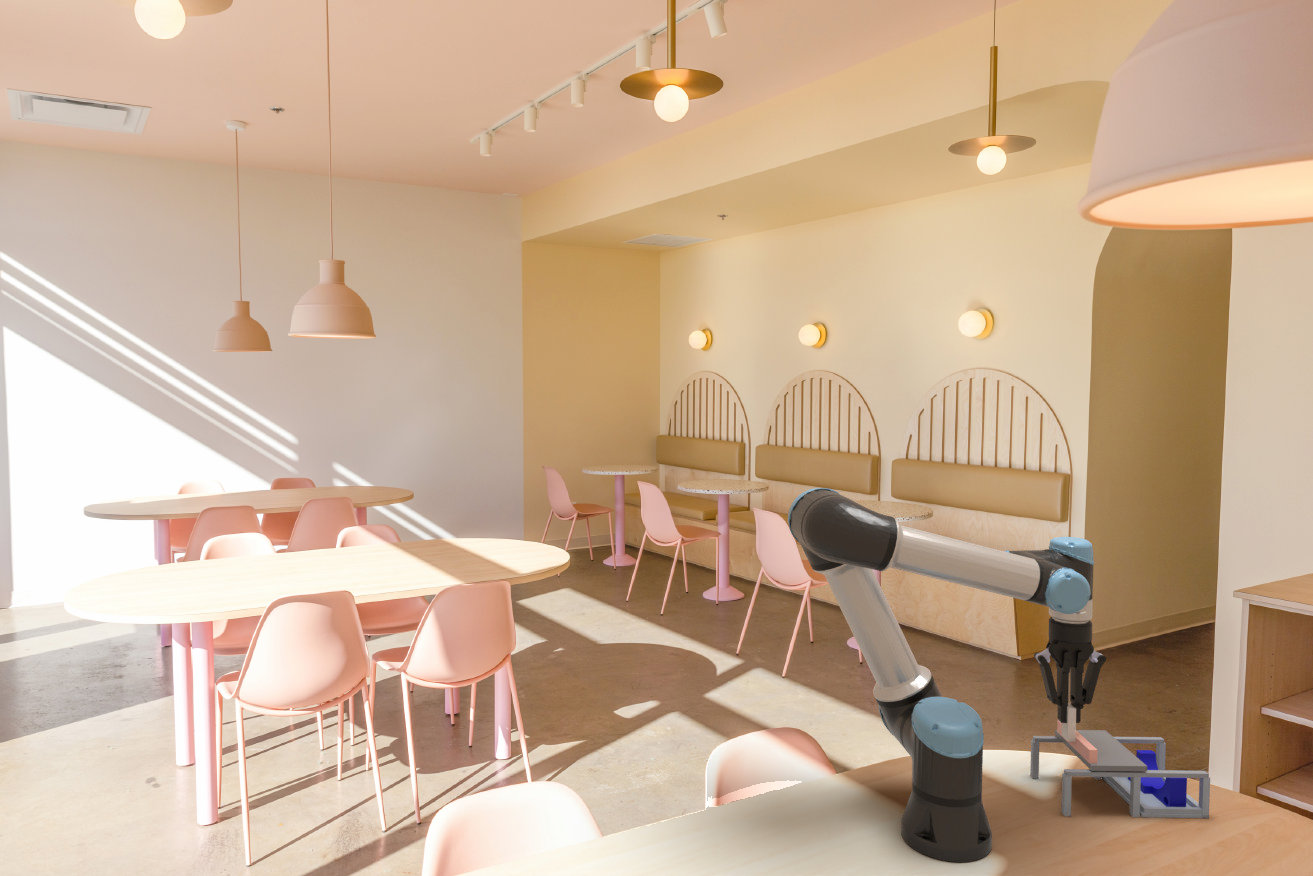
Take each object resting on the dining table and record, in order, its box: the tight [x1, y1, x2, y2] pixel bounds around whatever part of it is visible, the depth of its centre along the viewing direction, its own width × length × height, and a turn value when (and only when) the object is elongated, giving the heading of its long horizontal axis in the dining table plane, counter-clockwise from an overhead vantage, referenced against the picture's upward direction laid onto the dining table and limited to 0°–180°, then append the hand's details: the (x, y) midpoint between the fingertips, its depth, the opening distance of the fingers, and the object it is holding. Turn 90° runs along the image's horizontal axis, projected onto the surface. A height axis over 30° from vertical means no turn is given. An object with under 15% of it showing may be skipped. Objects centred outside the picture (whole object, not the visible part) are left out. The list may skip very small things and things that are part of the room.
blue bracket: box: [1128, 749, 1188, 807], centre depth 164 cm, size 12×4×6 cm, turn 178°
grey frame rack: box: [1029, 735, 1211, 819], centre depth 164 cm, size 26×16×8 cm, turn 87°
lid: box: [1054, 719, 1147, 771], centre depth 164 cm, size 10×16×4 cm, turn 177°
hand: (1068, 738), depth 164 cm, fingers closed
